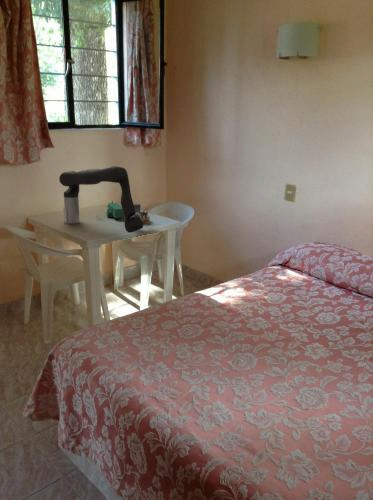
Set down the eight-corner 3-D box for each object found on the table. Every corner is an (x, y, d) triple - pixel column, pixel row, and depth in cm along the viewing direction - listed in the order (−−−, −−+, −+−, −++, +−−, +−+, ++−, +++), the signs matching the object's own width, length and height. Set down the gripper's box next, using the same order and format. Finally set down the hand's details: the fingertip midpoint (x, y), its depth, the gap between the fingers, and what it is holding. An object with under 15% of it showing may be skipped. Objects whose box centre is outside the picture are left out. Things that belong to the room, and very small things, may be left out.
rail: (124, 224, 284) (124, 219, 283) (126, 220, 294) (125, 216, 293) (149, 224, 285) (149, 220, 284) (149, 220, 294) (149, 216, 294)
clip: (140, 222, 287) (140, 205, 284) (134, 222, 287) (134, 204, 283) (140, 221, 291) (140, 203, 287) (134, 221, 291) (134, 203, 287)
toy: (118, 198, 318) (127, 206, 291) (118, 210, 321) (128, 220, 294) (102, 198, 314) (110, 207, 287) (102, 211, 317) (110, 221, 290)
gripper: (147, 212, 261) (147, 206, 277) (123, 211, 261) (125, 206, 276) (147, 224, 264) (147, 218, 279) (123, 224, 263) (125, 217, 278)
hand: (136, 212), depth 278 cm, fingers open, 8 cm apart
